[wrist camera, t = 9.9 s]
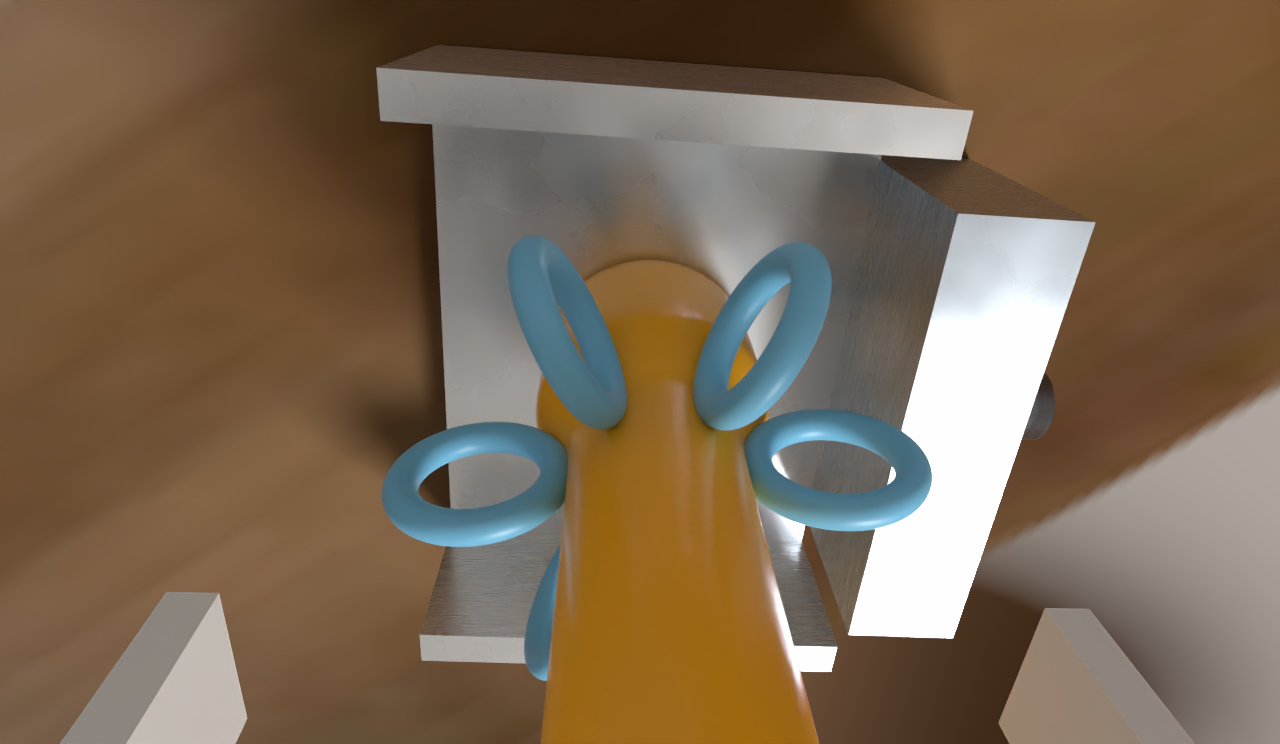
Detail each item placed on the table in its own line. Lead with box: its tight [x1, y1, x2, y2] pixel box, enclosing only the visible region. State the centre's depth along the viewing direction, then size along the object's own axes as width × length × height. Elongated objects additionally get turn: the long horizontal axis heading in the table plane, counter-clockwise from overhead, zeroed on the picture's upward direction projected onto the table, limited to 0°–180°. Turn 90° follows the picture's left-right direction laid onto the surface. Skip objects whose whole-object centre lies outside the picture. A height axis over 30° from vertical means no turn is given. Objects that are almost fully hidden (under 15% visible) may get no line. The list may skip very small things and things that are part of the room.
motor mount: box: [376, 45, 1095, 672], centre depth 22 cm, size 17×16×6 cm
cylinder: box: [382, 235, 932, 744], centre depth 17 cm, size 12×10×15 cm
